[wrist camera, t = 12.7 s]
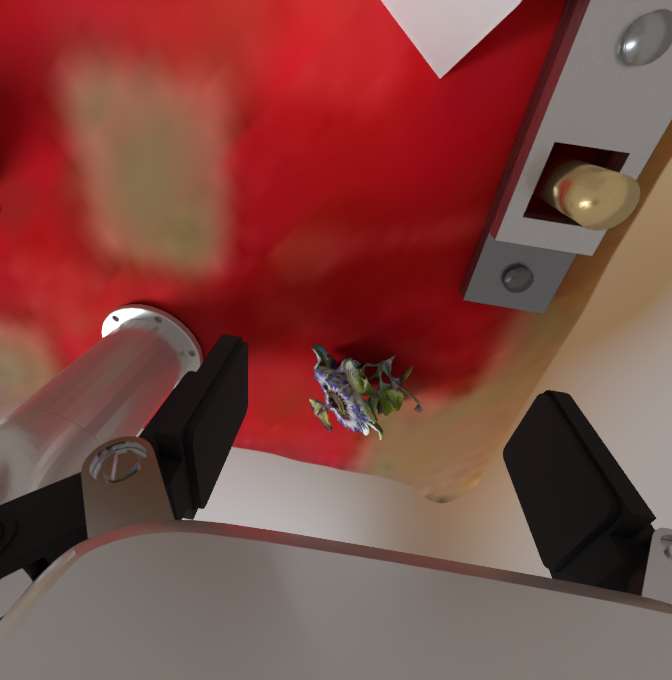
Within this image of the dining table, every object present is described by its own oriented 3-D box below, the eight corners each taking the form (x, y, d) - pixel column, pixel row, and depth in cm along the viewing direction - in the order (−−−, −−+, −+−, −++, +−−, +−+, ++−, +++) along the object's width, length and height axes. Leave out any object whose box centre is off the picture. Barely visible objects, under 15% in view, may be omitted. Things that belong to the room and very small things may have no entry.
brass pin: (550, 205, 29) (604, 240, 21) (520, 185, 28) (564, 214, 21) (582, 168, 27) (653, 191, 20) (551, 146, 27) (611, 162, 19)
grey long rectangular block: (536, 303, 34) (554, 328, 30) (459, 290, 34) (468, 313, 30) (699, -6, 21) (766, -30, 17) (575, -22, 21) (614, -49, 18)
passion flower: (339, 342, 46) (282, 351, 36) (415, 323, 41) (374, 327, 31) (358, 424, 46) (305, 457, 36) (437, 416, 40) (403, 452, 30)
